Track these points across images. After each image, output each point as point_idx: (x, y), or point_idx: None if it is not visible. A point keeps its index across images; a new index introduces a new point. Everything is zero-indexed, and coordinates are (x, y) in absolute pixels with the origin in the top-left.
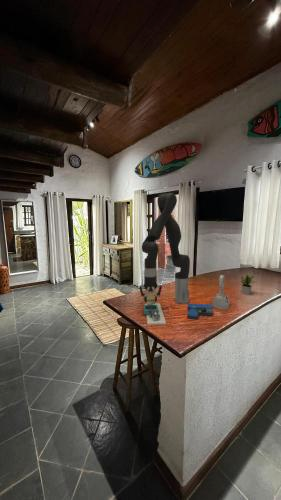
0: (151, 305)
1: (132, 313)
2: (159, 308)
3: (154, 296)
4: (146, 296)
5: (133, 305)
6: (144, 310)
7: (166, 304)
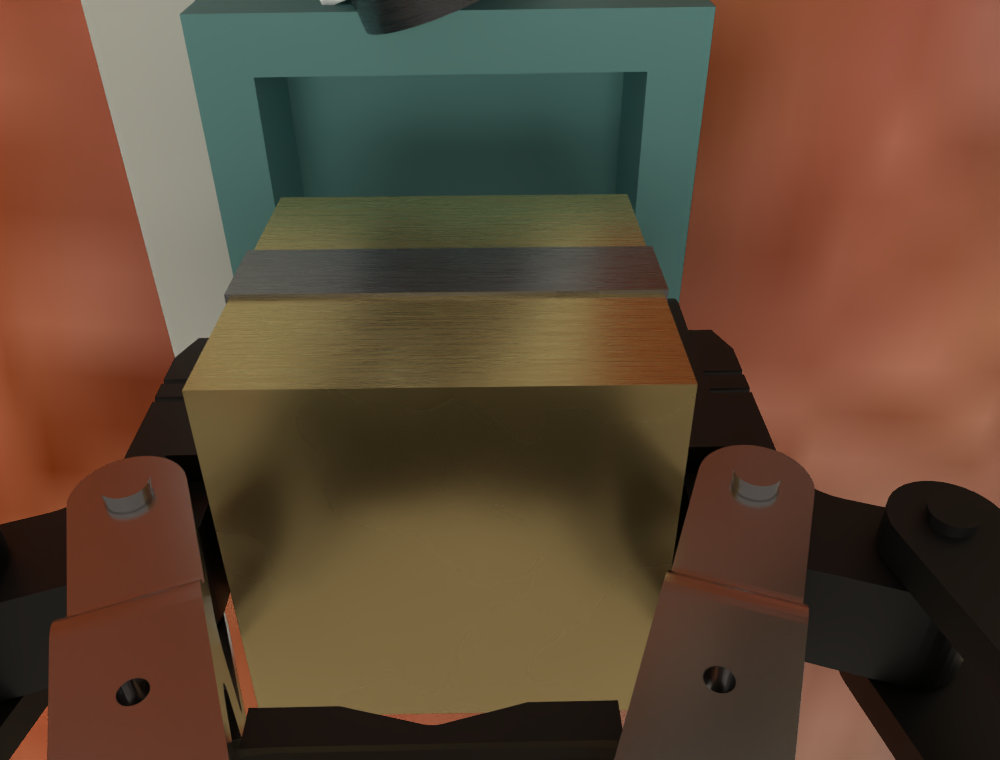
0: None
1: (959, 199)
2: None
3: (220, 387)
4: None
5: None
6: (706, 16)
7: None
